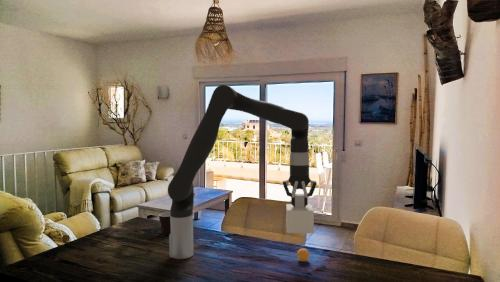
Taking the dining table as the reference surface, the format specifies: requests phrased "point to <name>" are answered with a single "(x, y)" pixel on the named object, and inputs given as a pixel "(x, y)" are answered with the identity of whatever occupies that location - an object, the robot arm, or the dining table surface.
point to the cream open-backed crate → (299, 216)
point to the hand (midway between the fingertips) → (299, 206)
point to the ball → (303, 255)
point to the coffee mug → (165, 223)
